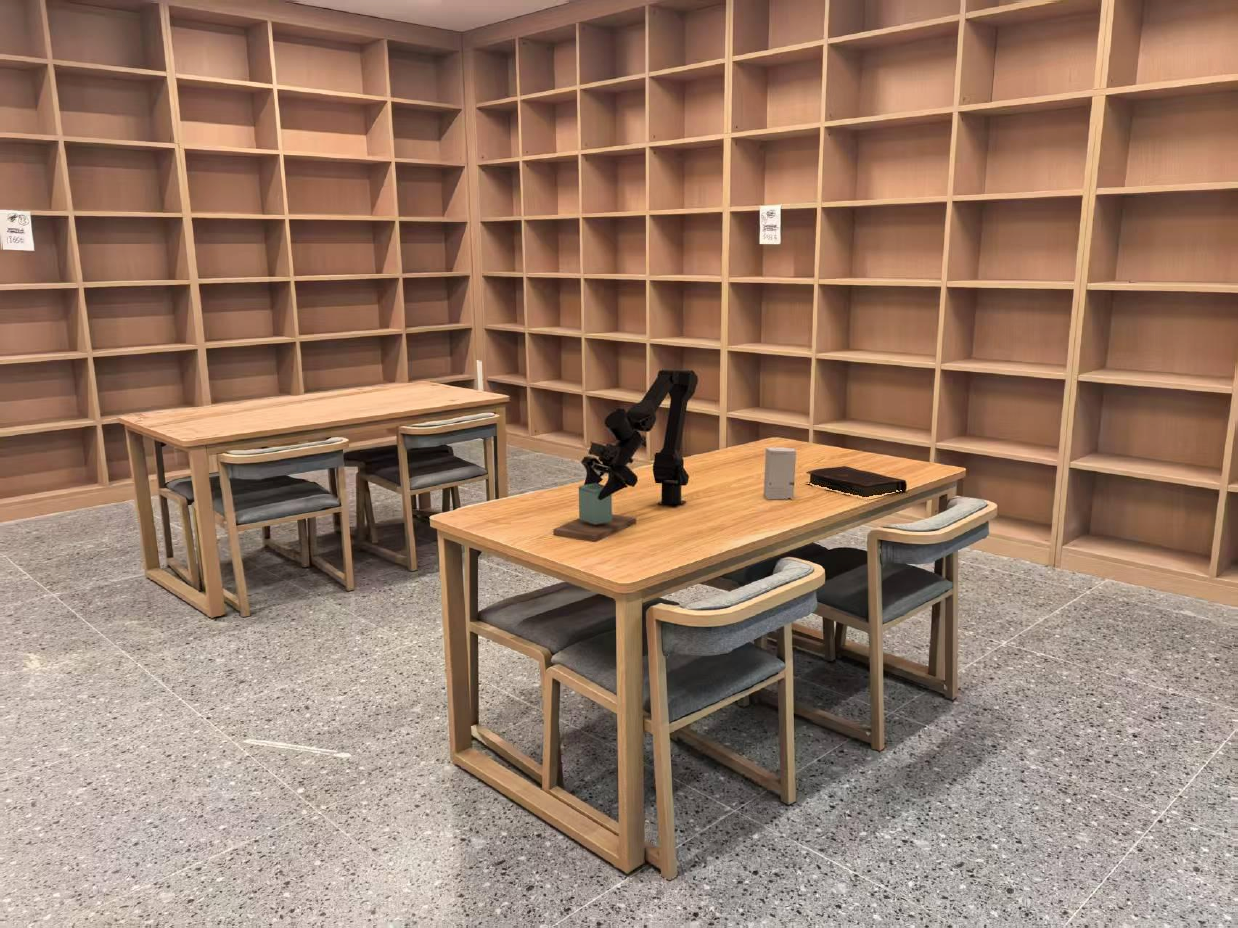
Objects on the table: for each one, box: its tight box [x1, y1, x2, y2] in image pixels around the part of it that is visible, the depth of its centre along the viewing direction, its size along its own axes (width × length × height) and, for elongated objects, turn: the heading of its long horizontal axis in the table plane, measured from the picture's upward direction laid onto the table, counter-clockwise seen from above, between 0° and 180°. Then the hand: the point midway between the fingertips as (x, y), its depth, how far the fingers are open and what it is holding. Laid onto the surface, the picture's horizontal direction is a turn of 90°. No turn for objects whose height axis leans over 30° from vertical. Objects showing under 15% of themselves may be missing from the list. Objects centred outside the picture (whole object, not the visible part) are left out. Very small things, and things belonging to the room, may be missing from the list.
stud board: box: [553, 513, 637, 543], centre depth 244 cm, size 20×13×5 cm, turn 149°
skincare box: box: [763, 446, 797, 500], centre depth 275 cm, size 8×6×15 cm
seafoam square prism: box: [578, 483, 613, 525], centre depth 243 cm, size 6×7×9 cm
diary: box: [805, 465, 908, 497], centre depth 286 cm, size 19×25×5 cm
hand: (590, 496), depth 242 cm, fingers closed on seafoam square prism, 7 cm apart
